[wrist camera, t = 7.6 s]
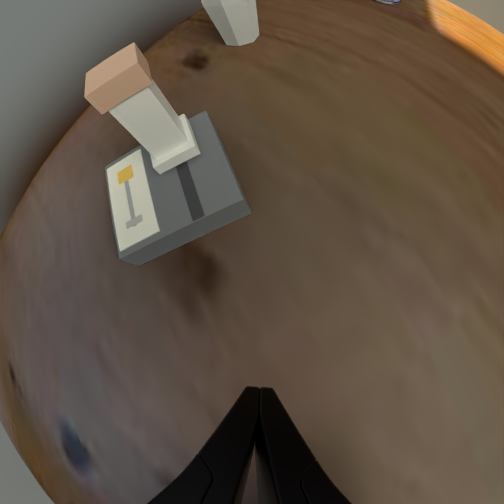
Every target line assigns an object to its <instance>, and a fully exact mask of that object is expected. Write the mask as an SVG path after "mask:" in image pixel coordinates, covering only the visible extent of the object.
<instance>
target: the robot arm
mask: <svg viewBox="0 0 504 504" xmlns="http://www.w3.org/2000/svg"><path fill="white" fill-rule="evenodd" d="M254 444H255V460H256V473H257V485H258V498H259V504H351V503H350V501H349V500H348V499H347V498H346V497H345V496H344V495H343V494H342V493H341V492H340V491H339V490H338V488H337V487H336V486H335V485H334V484H333V483H332V481H331V480H330V479H329V477H328V476H327V475H326V473H325V472H324V470H323V469H322V467H321V466H320V464H319V463H318V461H316V458H315V457H314V455H313V454H312V452H311V450H310V449H309V447H308V446H307V444H306V442H305V441H304V439H303V438H302V436H301V434H300V433H299V431H298V430H297V428H296V426H295V425H294V423H293V421H292V420H291V418H290V416H289V415H288V413H287V411H286V410H285V408H284V406H283V405H282V403H281V401H280V400H279V398H278V396H277V395H276V393H275V391H274V390H273V388H267V387H261V388H260V389H259V388H258V387H252V386H247V387H246V388H245V389H244V391H243V392H242V394H241V395H240V396H239V398H238V399H237V401H236V402H235V404H234V405H233V406H232V408H231V409H230V411H229V412H228V413H227V415H226V416H225V418H224V419H223V420H222V422H221V423H220V425H219V426H218V427H217V429H216V430H215V431H214V433H213V434H212V435H211V437H210V438H209V439H208V441H207V442H206V443H205V445H204V446H203V447H202V449H201V450H200V451H199V453H198V454H197V455H196V456H195V458H194V459H193V460H192V461H191V463H190V464H189V465H188V466H187V467H186V468H185V470H184V471H183V472H182V473H181V474H180V475H179V476H178V477H177V478H176V479H175V480H174V481H173V482H172V483H171V484H170V485H168V486H167V487H166V488H165V489H164V490H163V491H162V492H160V493H159V494H158V495H157V496H156V497H155V498H153V499H152V500H151V501H150V502H149V503H147V504H241V501H242V497H243V493H244V489H245V485H246V481H247V477H248V473H249V468H250V464H251V460H252V455H253V450H254Z"/></svg>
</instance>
